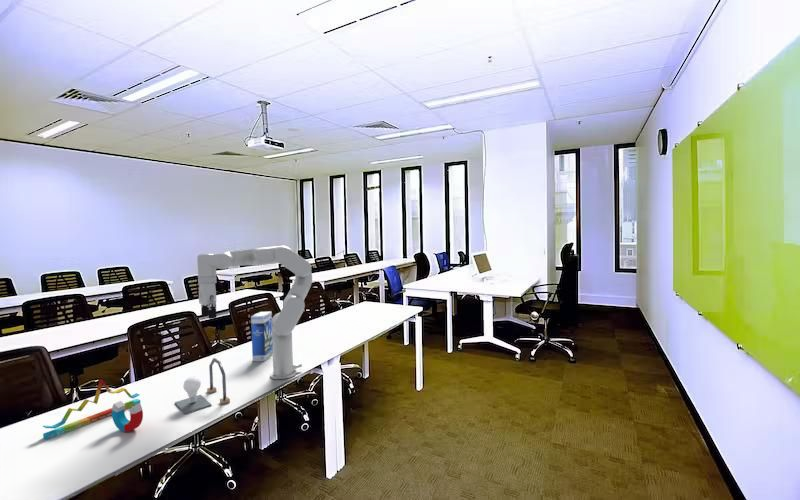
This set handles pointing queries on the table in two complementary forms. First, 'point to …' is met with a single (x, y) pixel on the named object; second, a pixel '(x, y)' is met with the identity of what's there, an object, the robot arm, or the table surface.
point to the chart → (91, 418)
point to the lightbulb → (192, 388)
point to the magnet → (122, 421)
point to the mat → (192, 404)
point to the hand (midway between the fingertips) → (208, 316)
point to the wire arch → (213, 389)
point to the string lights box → (261, 336)
